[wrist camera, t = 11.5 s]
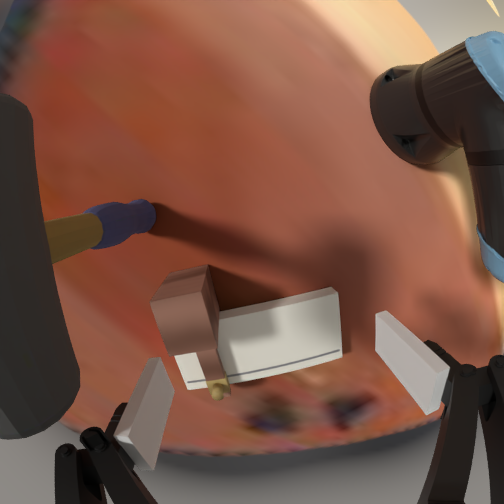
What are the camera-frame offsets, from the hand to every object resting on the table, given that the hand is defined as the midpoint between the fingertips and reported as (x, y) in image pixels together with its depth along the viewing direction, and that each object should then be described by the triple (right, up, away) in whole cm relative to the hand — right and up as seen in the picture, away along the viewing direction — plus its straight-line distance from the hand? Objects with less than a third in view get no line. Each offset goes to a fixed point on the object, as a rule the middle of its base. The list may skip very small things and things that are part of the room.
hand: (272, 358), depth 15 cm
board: (-1, -5, +21) cm, 22 cm away
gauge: (-7, -4, +21) cm, 22 cm away
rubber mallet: (-14, +11, +17) cm, 25 cm away
